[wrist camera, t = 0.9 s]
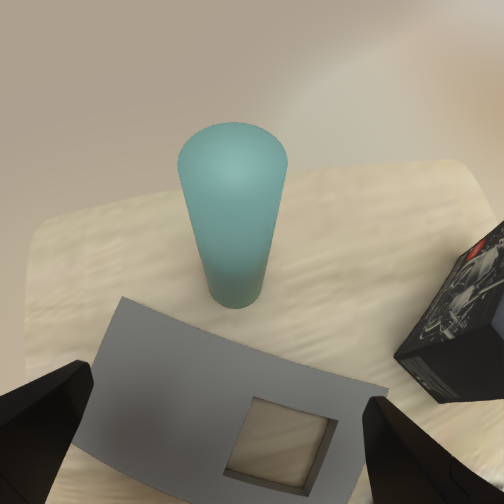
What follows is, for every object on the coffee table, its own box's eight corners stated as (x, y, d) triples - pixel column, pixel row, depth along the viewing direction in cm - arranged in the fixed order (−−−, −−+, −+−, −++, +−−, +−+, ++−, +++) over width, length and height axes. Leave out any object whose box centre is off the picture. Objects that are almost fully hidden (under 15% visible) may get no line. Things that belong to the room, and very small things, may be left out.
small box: (458, 253, 26) (536, 186, 15) (497, 298, 24) (581, 249, 13) (389, 356, 22) (493, 322, 11) (438, 406, 20) (547, 399, 9)
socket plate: (324, 525, 16) (331, 535, 14) (78, 436, 18) (66, 439, 16) (377, 388, 21) (388, 388, 19) (130, 303, 23) (122, 295, 21)
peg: (251, 316, 23) (268, 219, 10) (201, 297, 23) (158, 185, 10) (268, 268, 24) (299, 137, 12) (220, 252, 25) (205, 113, 12)
